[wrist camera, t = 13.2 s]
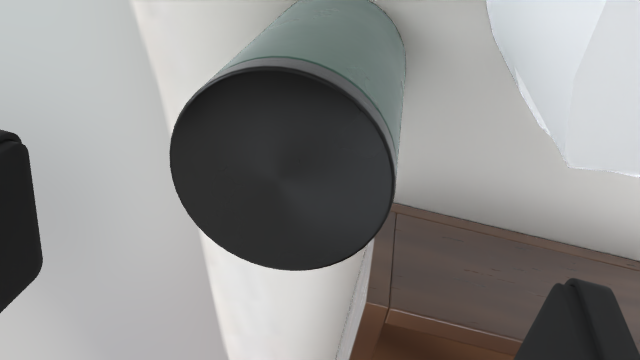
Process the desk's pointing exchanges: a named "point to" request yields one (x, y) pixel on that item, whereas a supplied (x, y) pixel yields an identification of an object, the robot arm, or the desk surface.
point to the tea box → (465, 289)
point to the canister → (297, 138)
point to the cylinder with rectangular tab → (577, 75)
